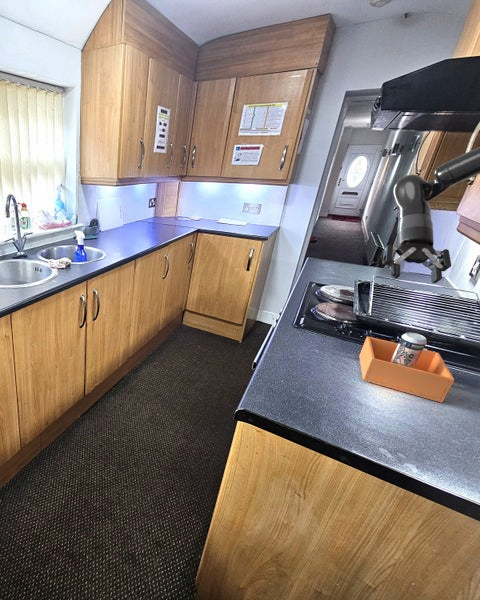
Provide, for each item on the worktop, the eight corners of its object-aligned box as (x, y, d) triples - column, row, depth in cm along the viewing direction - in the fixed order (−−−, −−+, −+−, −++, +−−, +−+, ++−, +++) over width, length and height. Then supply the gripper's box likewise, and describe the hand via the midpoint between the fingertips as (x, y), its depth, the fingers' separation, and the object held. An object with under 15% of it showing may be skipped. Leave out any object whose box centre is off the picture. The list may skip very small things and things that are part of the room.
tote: (428, 373, 91) (438, 352, 89) (442, 402, 80) (454, 379, 77) (359, 355, 99) (367, 336, 97) (363, 380, 88) (372, 358, 85)
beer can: (387, 375, 89) (404, 337, 84) (385, 366, 92) (401, 329, 87) (411, 381, 86) (430, 342, 81) (407, 372, 90) (426, 334, 85)
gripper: (391, 223, 98) (391, 269, 92) (455, 227, 92) (459, 277, 87) (378, 237, 104) (377, 281, 99) (437, 242, 99) (440, 289, 93)
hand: (415, 279), depth 93 cm, fingers open, 8 cm apart
